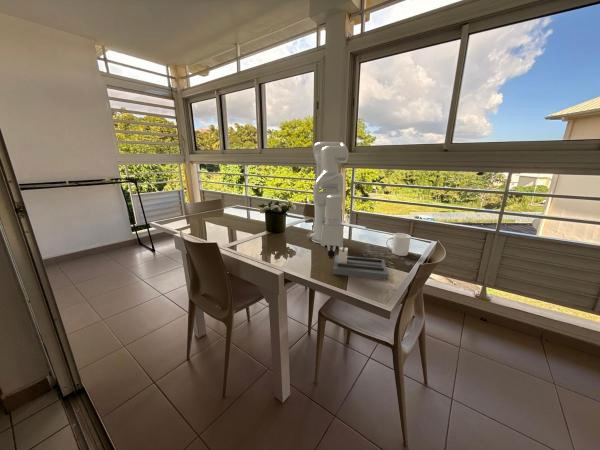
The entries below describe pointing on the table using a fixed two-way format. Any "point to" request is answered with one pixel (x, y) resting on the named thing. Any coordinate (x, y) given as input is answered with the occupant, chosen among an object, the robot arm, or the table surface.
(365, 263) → the breaker panel
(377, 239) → the table surface
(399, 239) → the mug
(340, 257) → the breaker toggle
